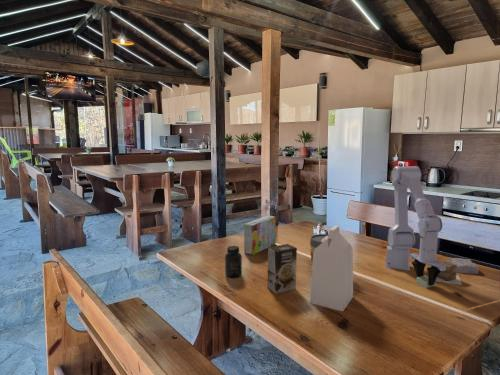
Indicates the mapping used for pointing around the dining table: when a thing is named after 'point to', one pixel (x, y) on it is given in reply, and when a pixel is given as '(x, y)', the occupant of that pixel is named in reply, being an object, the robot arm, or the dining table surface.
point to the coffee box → (282, 268)
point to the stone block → (464, 265)
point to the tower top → (449, 267)
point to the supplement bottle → (233, 262)
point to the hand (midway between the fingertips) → (425, 282)
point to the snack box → (259, 235)
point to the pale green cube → (423, 281)
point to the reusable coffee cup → (316, 242)
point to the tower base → (447, 276)
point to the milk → (332, 272)
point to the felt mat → (456, 281)
